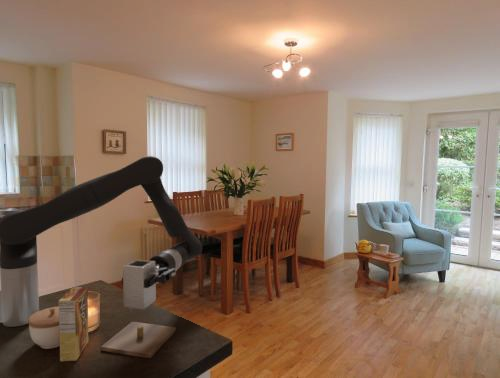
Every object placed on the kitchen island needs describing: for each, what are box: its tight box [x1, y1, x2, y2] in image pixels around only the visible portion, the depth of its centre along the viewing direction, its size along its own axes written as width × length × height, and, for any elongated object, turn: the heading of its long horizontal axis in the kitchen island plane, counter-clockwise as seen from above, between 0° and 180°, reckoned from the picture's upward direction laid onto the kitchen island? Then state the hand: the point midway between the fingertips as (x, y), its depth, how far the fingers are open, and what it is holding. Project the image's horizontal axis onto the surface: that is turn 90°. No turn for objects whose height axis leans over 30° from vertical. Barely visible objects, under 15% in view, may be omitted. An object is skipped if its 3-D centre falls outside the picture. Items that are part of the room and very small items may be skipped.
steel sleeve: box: [122, 259, 157, 310], centre depth 89 cm, size 6×6×11 cm
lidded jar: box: [28, 305, 60, 350], centre depth 88 cm, size 11×11×9 cm
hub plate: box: [100, 321, 177, 359], centre depth 90 cm, size 14×14×4 cm
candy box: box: [58, 286, 89, 363], centre depth 84 cm, size 9×4×15 cm, turn 9°
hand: (134, 283), depth 87 cm, fingers closed on steel sleeve, 6 cm apart
